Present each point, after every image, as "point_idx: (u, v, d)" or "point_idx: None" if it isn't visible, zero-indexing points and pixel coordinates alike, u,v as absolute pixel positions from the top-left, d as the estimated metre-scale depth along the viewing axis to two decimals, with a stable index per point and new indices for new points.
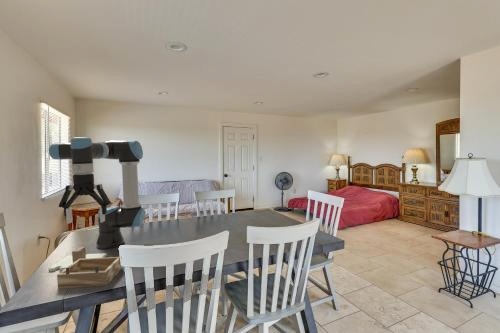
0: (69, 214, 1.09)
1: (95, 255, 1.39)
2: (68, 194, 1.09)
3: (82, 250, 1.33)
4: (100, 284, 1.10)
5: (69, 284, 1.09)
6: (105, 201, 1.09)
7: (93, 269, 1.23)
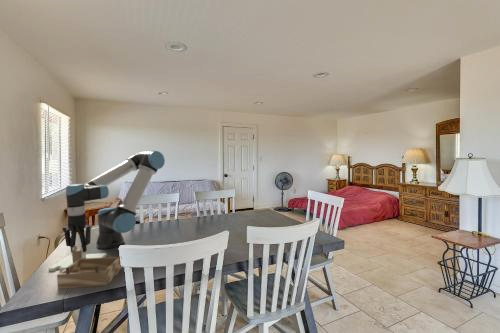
0: None
1: (95, 255, 1.39)
2: (68, 233, 1.32)
3: None
4: (100, 284, 1.10)
5: (69, 284, 1.09)
6: (86, 241, 1.32)
7: (93, 269, 1.23)
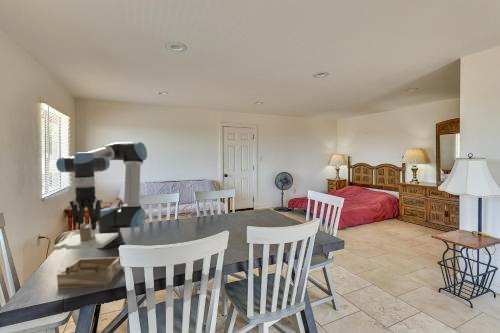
0: None
1: (105, 234, 1.23)
2: (76, 208, 1.16)
3: None
4: (100, 284, 1.10)
5: (69, 284, 1.09)
6: (96, 217, 1.16)
7: (93, 269, 1.23)
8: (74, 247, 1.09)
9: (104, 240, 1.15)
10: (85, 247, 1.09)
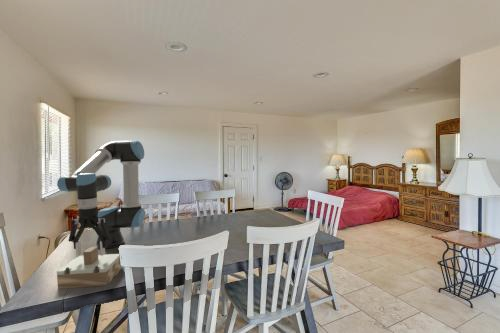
0: (78, 248, 1.16)
1: (108, 256, 1.23)
2: (75, 228, 1.16)
3: (94, 250, 1.17)
4: (100, 284, 1.10)
5: (69, 284, 1.09)
6: (106, 235, 1.16)
7: None
8: (78, 272, 1.09)
9: (108, 263, 1.15)
10: (89, 271, 1.10)
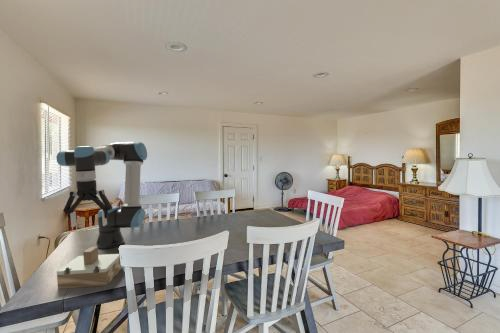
0: (73, 218, 1.16)
1: (108, 256, 1.23)
2: (72, 199, 1.16)
3: (94, 250, 1.17)
4: (100, 284, 1.10)
5: (69, 284, 1.09)
6: (107, 206, 1.17)
7: None
8: (78, 272, 1.09)
9: (108, 263, 1.15)
10: (89, 271, 1.10)
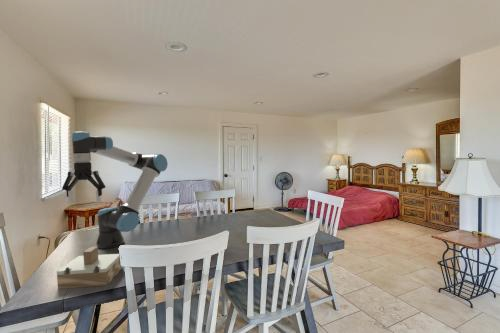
0: (70, 196, 1.31)
1: (108, 256, 1.23)
2: (70, 179, 1.31)
3: (94, 250, 1.17)
4: (100, 284, 1.10)
5: (69, 284, 1.09)
6: (100, 185, 1.31)
7: None
8: (78, 272, 1.09)
9: (108, 263, 1.15)
10: (89, 271, 1.10)
